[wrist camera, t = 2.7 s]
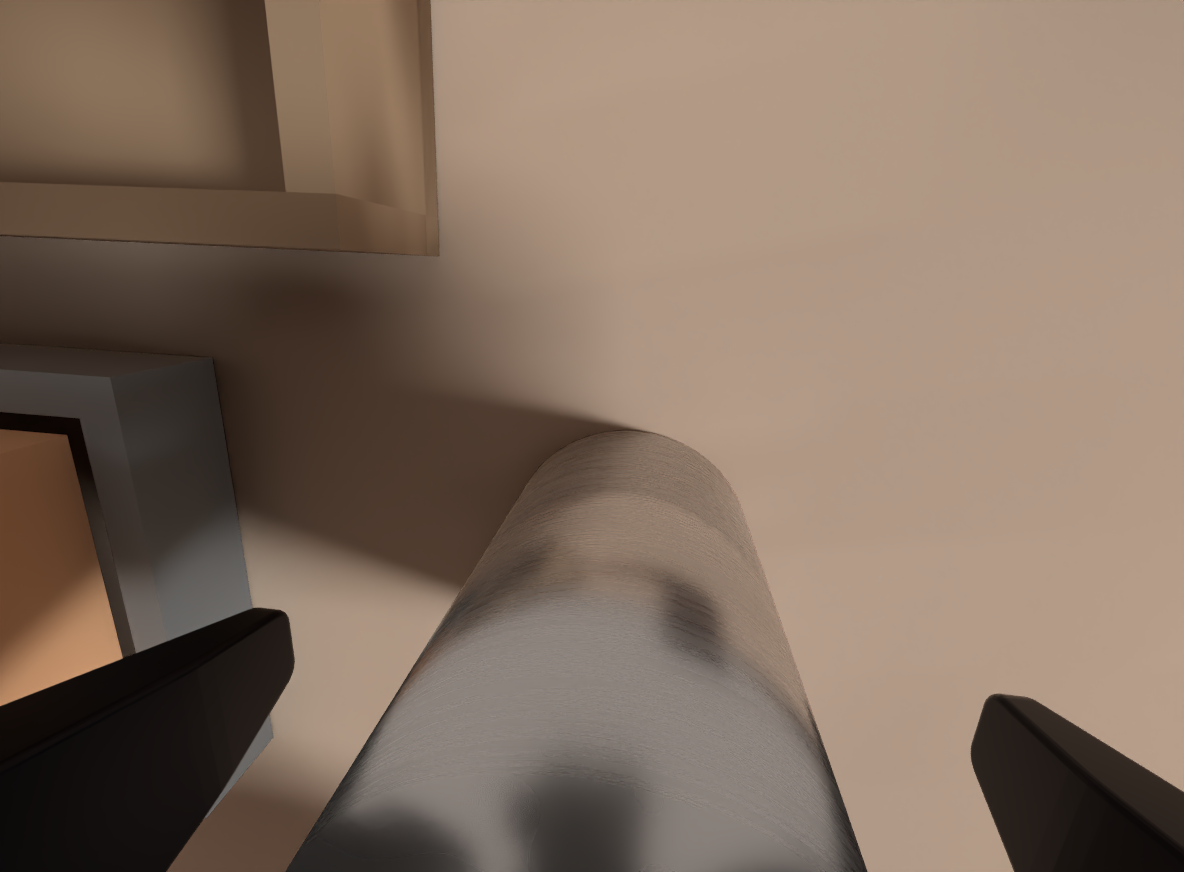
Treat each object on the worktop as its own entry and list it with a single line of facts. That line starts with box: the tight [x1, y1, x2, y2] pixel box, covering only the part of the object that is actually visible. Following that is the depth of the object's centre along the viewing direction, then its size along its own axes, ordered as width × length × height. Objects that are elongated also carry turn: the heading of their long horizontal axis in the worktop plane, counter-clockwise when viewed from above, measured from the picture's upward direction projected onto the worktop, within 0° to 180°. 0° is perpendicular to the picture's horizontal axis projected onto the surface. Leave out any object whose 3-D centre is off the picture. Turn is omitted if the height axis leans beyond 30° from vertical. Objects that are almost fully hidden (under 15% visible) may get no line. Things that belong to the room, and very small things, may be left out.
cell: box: [286, 430, 867, 872], centre depth 7 cm, size 4×4×8 cm
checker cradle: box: [0, 343, 273, 818], centre depth 11 cm, size 9×9×2 cm
